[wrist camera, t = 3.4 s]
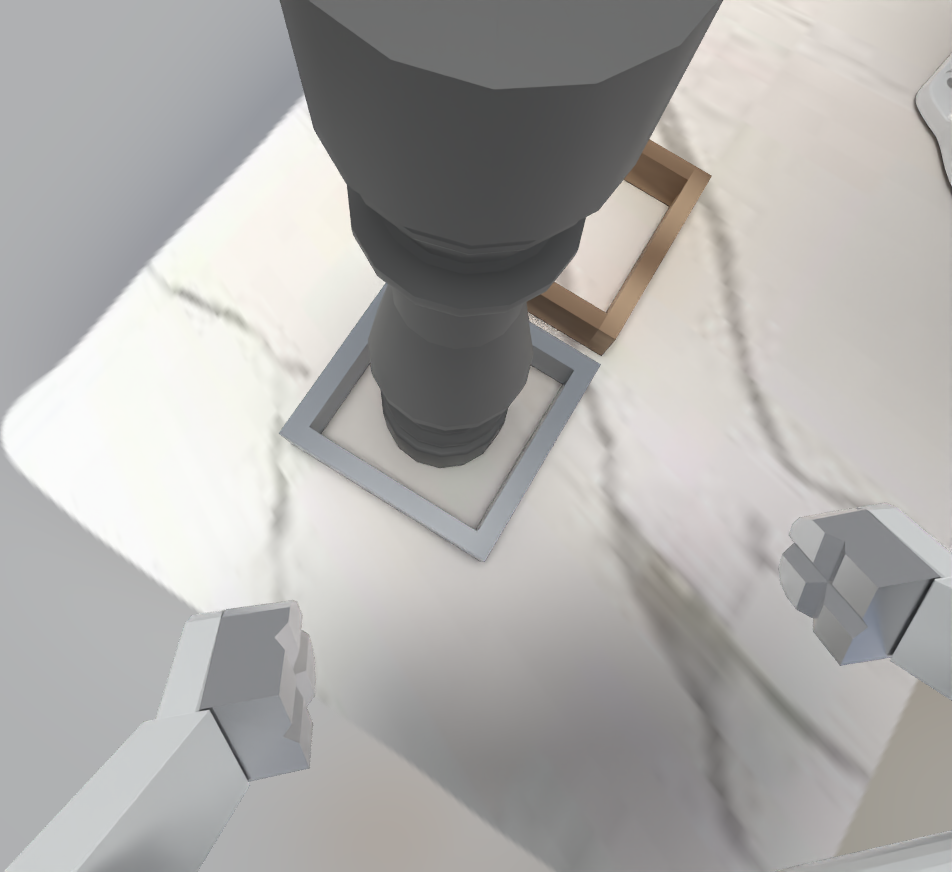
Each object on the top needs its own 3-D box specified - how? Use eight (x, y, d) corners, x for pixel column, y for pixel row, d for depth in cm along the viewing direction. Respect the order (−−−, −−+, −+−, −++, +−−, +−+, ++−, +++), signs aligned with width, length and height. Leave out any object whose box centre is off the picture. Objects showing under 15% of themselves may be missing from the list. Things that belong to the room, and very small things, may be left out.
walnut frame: (528, 106, 35) (535, 72, 33) (691, 202, 35) (711, 175, 32) (426, 250, 33) (426, 225, 30) (601, 355, 32) (615, 339, 30)
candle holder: (360, 403, 31) (107, -180, 6) (449, 332, 32) (522, -389, 8) (438, 492, 30) (485, 223, 6) (525, 416, 31) (871, -73, 7)
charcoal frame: (411, 272, 32) (409, 249, 30) (587, 379, 32) (600, 364, 30) (290, 443, 30) (278, 433, 28) (480, 561, 30) (484, 561, 27)
